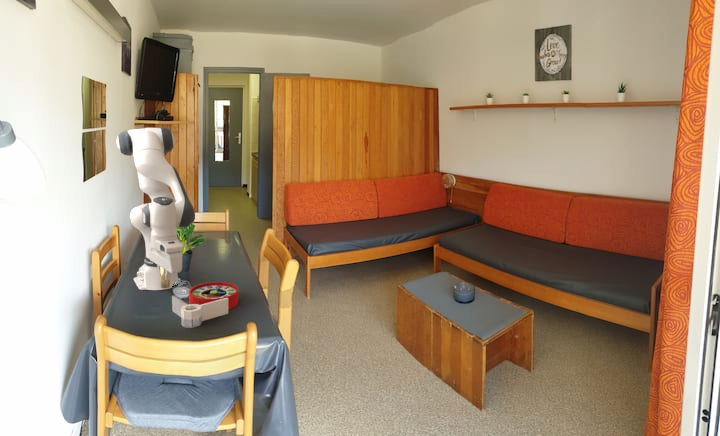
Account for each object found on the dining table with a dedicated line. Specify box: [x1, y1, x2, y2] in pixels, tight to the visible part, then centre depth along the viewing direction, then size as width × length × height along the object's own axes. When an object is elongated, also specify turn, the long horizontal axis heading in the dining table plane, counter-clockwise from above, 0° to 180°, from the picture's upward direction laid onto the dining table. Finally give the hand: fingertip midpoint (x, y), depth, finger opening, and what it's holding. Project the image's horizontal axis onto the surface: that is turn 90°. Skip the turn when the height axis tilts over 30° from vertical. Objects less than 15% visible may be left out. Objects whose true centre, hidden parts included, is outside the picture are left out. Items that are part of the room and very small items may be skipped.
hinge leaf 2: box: [180, 298, 229, 322], centre depth 176 cm, size 7×19×6 cm, turn 137°
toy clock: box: [188, 281, 239, 311], centre depth 193 cm, size 20×6×20 cm
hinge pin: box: [160, 267, 170, 289], centre depth 168 cm, size 3×3×8 cm
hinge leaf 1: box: [171, 295, 203, 329], centre depth 176 cm, size 19×7×6 cm, turn 47°
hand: (165, 277), depth 168 cm, fingers closed on hinge pin, 3 cm apart
